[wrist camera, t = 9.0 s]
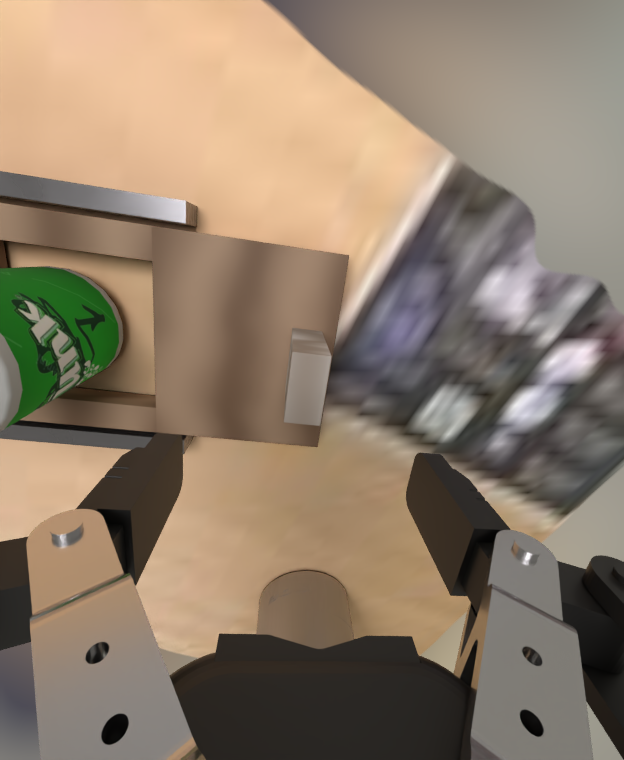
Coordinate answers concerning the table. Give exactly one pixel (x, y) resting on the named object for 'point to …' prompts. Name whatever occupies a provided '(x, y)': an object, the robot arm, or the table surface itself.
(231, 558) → the table surface
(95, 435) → the lane rails
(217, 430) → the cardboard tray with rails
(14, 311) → the soda can
